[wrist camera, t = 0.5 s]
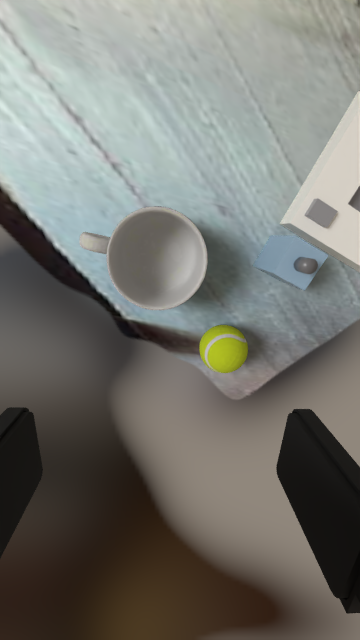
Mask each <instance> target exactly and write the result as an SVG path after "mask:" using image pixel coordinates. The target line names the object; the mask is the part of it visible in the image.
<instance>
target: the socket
mask: <svg viewBox="0 0 360 640" xmlns="http://www.w3.org/2000/svg"><path fill="white" fill-rule="evenodd" d="M280 225H282V226H284V227H285V228H287V229H288V230H290V231H292V232H293V233H295V234H297V235H298V236H300V237H302V238H303V239H305V240H307V241H308V242H310V243H312V244H313V245H315V246H317V247H318V248H320V249H322V250H323V251H325V252H326V253H328V254H330V255H331V256H333V257H335V258H336V259H338V260H340V261H341V262H343V263H345V264H346V265H348V266H350V267H351V268H353V269H355V270H356V271H358V272H360V91H359V92H357V94H356V96H355V98H354V99H353V101H352V103H351V104H350V106H349V108H348V109H347V111H346V113H345V114H344V116H343V118H342V120H341V121H340V123H339V125H338V126H337V128H336V130H335V131H334V133H333V135H332V136H331V138H330V140H329V141H328V143H327V145H326V147H325V148H324V150H323V152H322V153H321V155H320V157H319V158H318V160H317V162H316V163H315V165H314V167H313V169H312V170H311V172H310V174H309V175H308V177H307V179H306V180H305V182H304V184H303V185H302V187H301V189H300V190H299V192H298V194H297V196H296V197H295V199H294V201H293V202H292V204H291V206H290V207H289V209H288V211H287V212H286V214H285V216H284V218H283V219H282V221H281V223H280Z"/></svg>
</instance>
